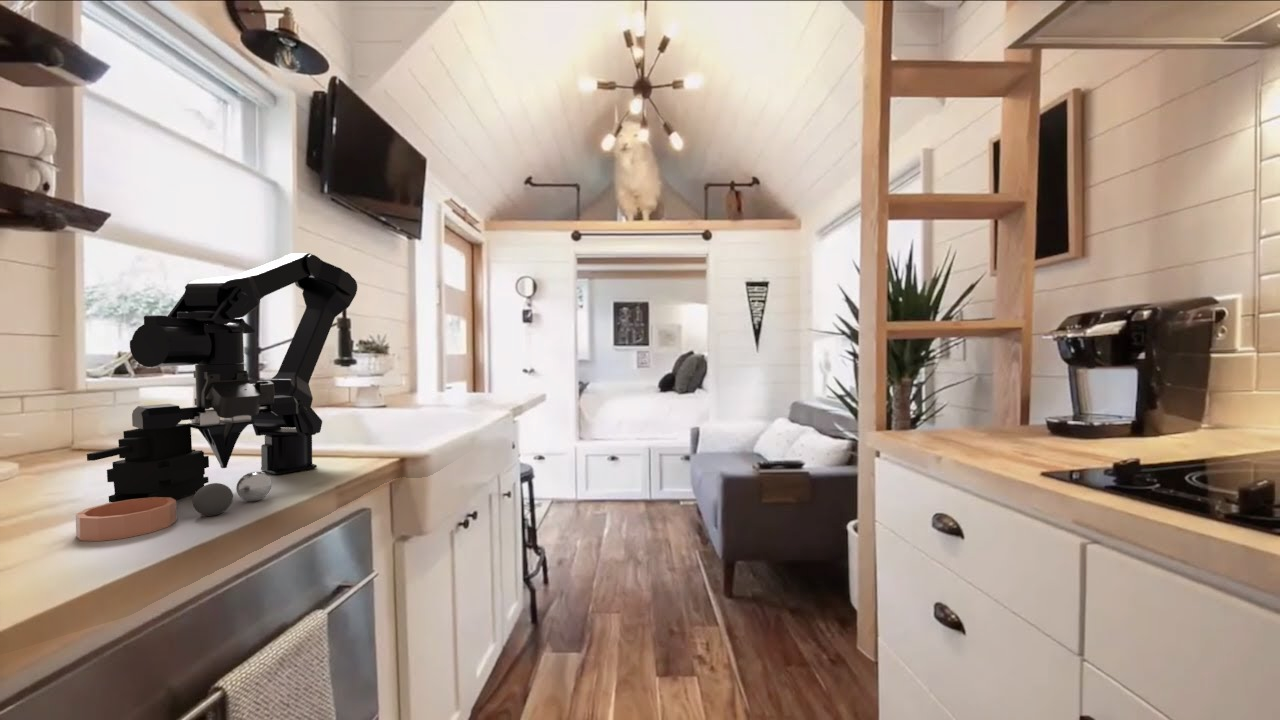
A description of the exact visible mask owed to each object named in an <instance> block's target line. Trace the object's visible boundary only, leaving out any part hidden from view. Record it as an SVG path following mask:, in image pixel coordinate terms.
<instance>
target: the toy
mask: <svg viewBox="0 0 1280 720" xmlns="http://www.w3.org/2000/svg"><path fill="white" fill-rule="evenodd" d="M192 444H193V443H192V428H191V427H190V424H188V423H178V424H177V425H176V426H175V427H167V428H157V429H140V428H133V429H129V430H123V438H120V439H118V447H113V448H108V449H104V450H100V451H95V452H91V453H86V461H87V462H89V461H91V462H92V461H93V462H95V461H98V460H103V459H106V458H110V457H115V456H118V457H119V460H116V461H113V462H112V468H108V469H107V470H106V477H107V478H106V479H107V480H106V481H107V483H113V488H114V494H111V495H108V503H112V502H118V501H124V500H129V499H138V498H149V497H171V498H173V499H175V500H176V501H177V500H179V499H182V498H184V497H187V496H190V495H193V494H195V493H196V492H197V491H198V490H199V489H200V488H202V487H203V486H205V485H206V484H209V482H210V481H209V476H204V475H205V474H206V470H205V469H207V468H210V457H209V455H205V451H203V450H196V449H193V445H192Z"/></svg>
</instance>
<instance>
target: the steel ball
mask: <svg viewBox="0 0 1280 720" xmlns="http://www.w3.org/2000/svg"><path fill="white" fill-rule="evenodd" d="M272 487H273V482H272V479H271V477H269V475H268V474H266V473H264V472H261V471H252V472H248V473H246V474H245V475H243V476H241V478H240V479H238V481H237V483H236V487H235V488H236V489H235V491H236V493H237V495H238V497H239V498H240V499H241V500H243V501H245V502H246V501H247V502H257V501H260V500H262V499H264V498H265V497H267V495H269V494H270V492H271V490H272Z"/></svg>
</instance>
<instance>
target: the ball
mask: <svg viewBox="0 0 1280 720" xmlns="http://www.w3.org/2000/svg"><path fill="white" fill-rule="evenodd" d="M233 500H234V493H233V491H232V489H231V488H230V487H229V486H228V485H226V484H224V483H218V482H214V483H213V482H212V483H207V484H204V486H203V487H202V488H200V489H199V490H198V491H197V492H196V493H194V495H193V497H192V506H193V509H194V510H195V511H196V512H197V513H198V514H201V515H203V516H206V517H207V516H210V517H211V516H216V515H219V514H222V513H224V512H225V511H226V510H228V508H229V507H230V506H231V504H232V503H233Z"/></svg>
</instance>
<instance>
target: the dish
mask: <svg viewBox="0 0 1280 720" xmlns="http://www.w3.org/2000/svg"><path fill="white" fill-rule="evenodd" d="M177 514H178V513H177V499H176V500H175V499H173V498H171V497H149V498H138V499H129V500H124V501H118V502H108V503H107V502H106V503H103V504H99V505H96V506H91V507H88V508H85V509H83V510H82V511H79V512H77V513H76V514H75V537H76V538H77V539H78V540H79V541H84V542H85V541H86V542H104V541H110V540H111V541H112V540H119V539H127V538H131V537H136V536H141V535H145V534H151V533H154V532H157V531H159V530H162V529H165V528H169V527H171V526H172V525H173V524H174V523H176V522H177V521H178V520H177V519H178V518H177Z"/></svg>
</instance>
